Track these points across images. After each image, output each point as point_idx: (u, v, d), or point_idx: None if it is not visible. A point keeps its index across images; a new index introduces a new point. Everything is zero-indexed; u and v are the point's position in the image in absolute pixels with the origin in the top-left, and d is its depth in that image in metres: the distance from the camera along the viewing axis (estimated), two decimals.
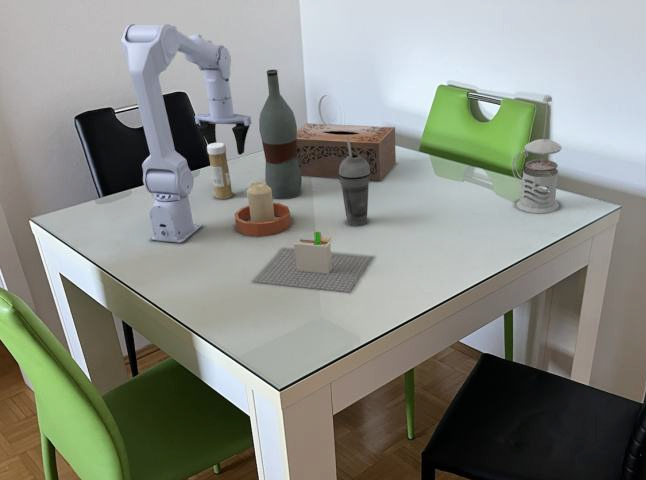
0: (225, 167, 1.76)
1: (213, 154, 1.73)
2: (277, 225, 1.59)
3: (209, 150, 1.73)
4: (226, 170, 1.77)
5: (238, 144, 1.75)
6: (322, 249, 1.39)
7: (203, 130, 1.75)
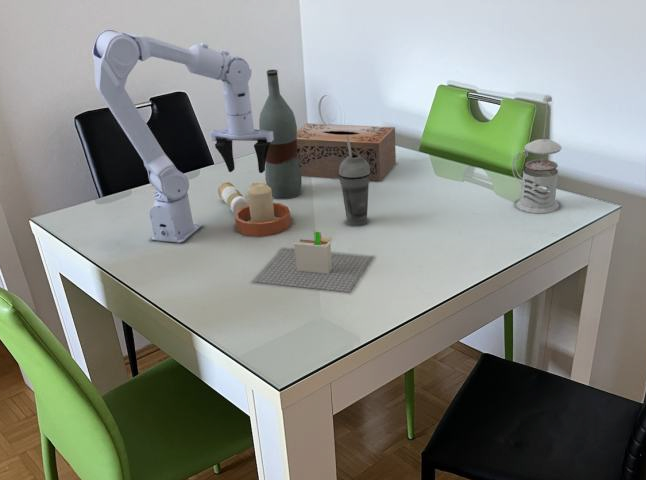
0: None
1: None
2: (277, 225, 1.59)
3: None
4: None
5: (260, 162, 1.62)
6: (322, 249, 1.39)
7: (221, 148, 1.61)
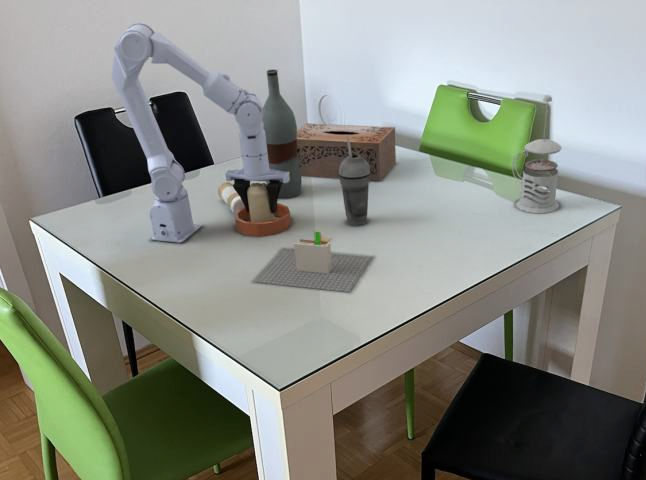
0: None
1: None
2: (277, 225, 1.59)
3: None
4: None
5: (272, 202, 1.59)
6: (322, 249, 1.39)
7: (239, 188, 1.58)
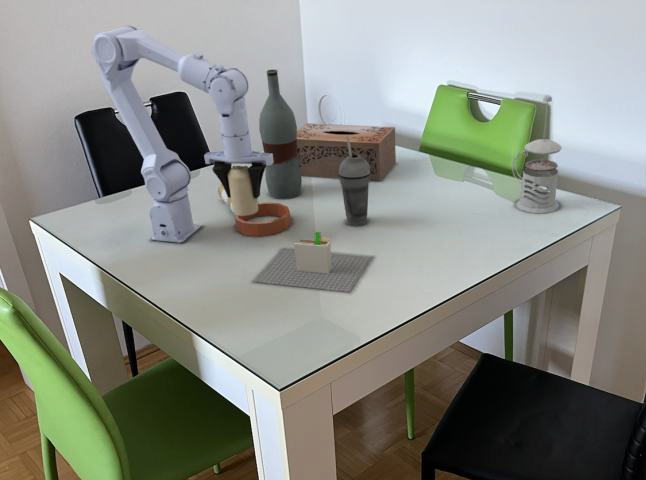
0: None
1: None
2: (277, 225, 1.59)
3: None
4: None
5: (254, 187, 1.48)
6: (322, 249, 1.39)
7: (219, 172, 1.47)
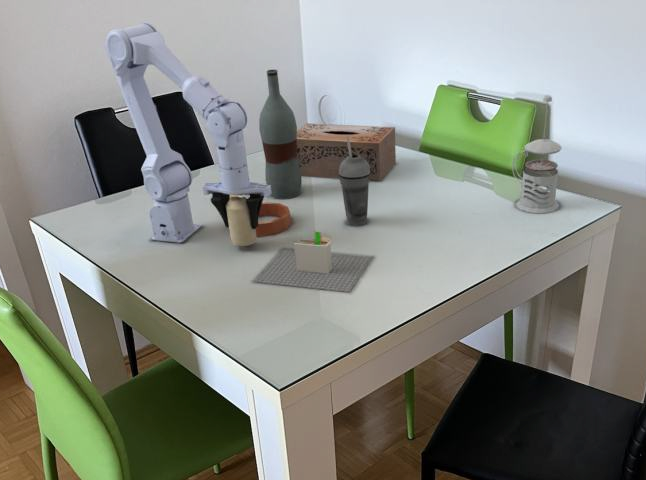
0: None
1: None
2: (277, 225, 1.59)
3: None
4: None
5: (252, 218, 1.49)
6: (322, 249, 1.39)
7: (217, 203, 1.48)
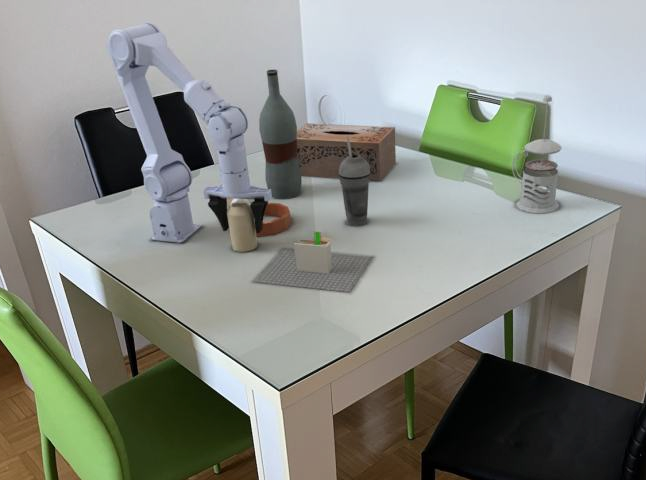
0: None
1: None
2: (277, 225, 1.59)
3: None
4: None
5: (257, 222, 1.49)
6: (322, 249, 1.39)
7: (215, 207, 1.48)
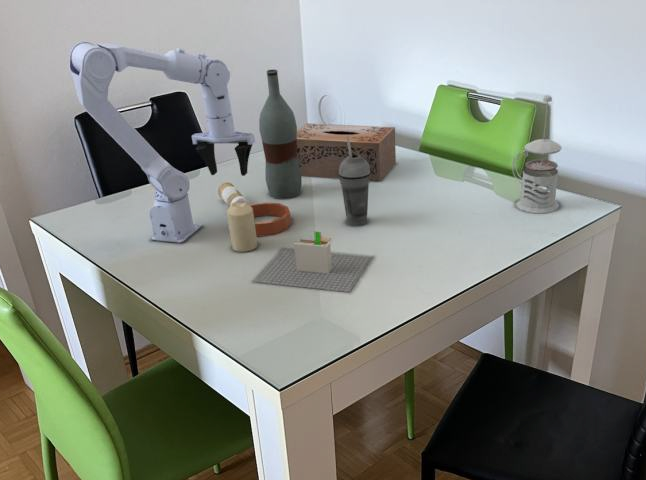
0: None
1: None
2: (277, 225, 1.59)
3: None
4: None
5: (241, 165, 1.60)
6: (322, 249, 1.39)
7: (202, 151, 1.60)
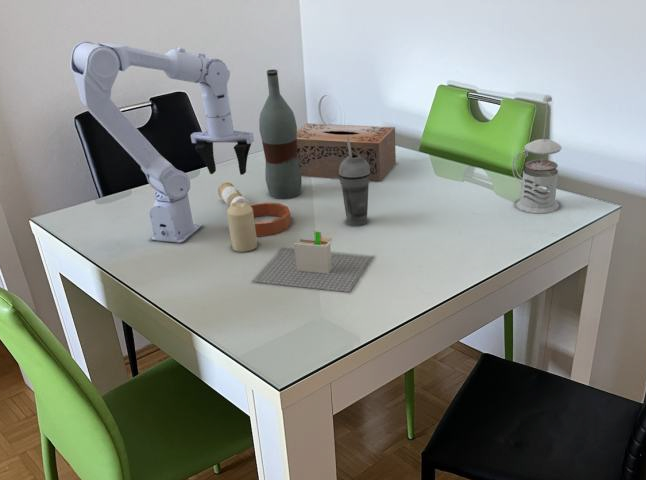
0: None
1: None
2: (277, 225, 1.59)
3: None
4: None
5: (240, 164, 1.61)
6: (322, 249, 1.39)
7: (201, 150, 1.61)
